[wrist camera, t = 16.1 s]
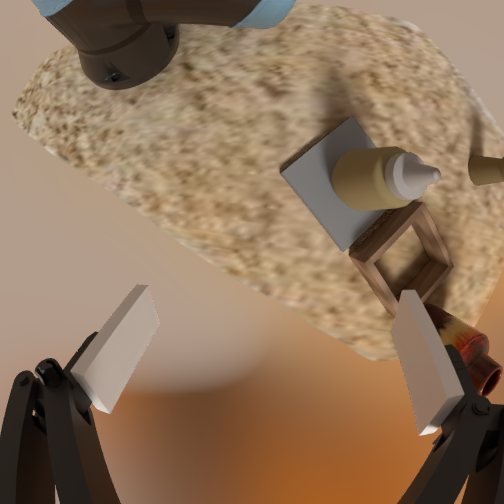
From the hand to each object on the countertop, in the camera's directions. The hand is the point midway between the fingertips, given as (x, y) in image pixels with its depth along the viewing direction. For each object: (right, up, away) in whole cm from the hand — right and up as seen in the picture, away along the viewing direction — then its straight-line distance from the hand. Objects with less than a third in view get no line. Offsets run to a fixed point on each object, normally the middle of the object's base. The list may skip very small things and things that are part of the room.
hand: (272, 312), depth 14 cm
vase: (+30, -12, +31) cm, 45 cm away
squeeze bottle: (+13, +13, +23) cm, 29 cm away
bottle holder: (+22, +2, +27) cm, 35 cm away
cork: (+43, +19, +27) cm, 54 cm away
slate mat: (+13, +13, +24) cm, 30 cm away
